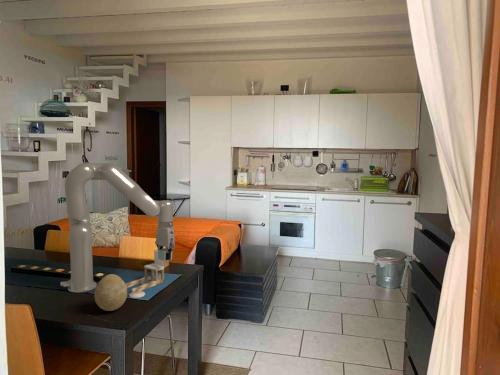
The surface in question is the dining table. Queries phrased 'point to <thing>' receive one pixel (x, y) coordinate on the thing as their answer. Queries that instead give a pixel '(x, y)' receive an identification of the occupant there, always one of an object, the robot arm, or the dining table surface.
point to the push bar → (149, 279)
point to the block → (163, 254)
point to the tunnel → (153, 268)
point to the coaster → (137, 294)
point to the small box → (158, 261)
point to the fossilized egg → (110, 292)
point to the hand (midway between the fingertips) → (164, 258)
